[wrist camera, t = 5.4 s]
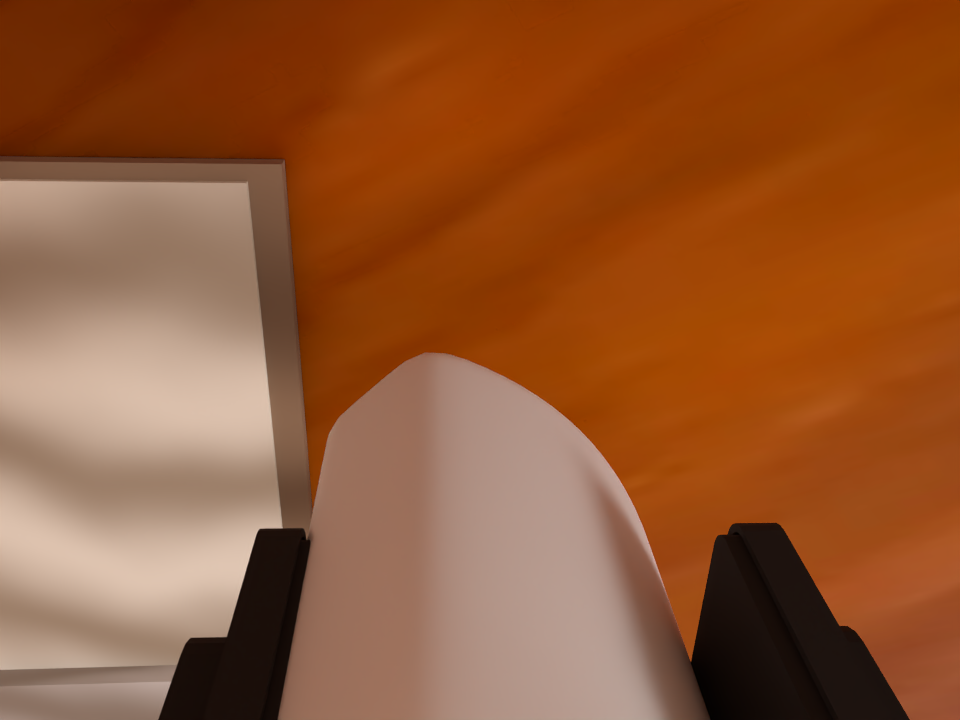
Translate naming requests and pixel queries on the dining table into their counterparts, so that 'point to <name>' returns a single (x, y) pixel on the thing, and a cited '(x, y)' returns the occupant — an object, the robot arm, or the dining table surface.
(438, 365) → the eye dropper bottle
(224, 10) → the dining table surface
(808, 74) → the dining table surface
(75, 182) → the clipboard
